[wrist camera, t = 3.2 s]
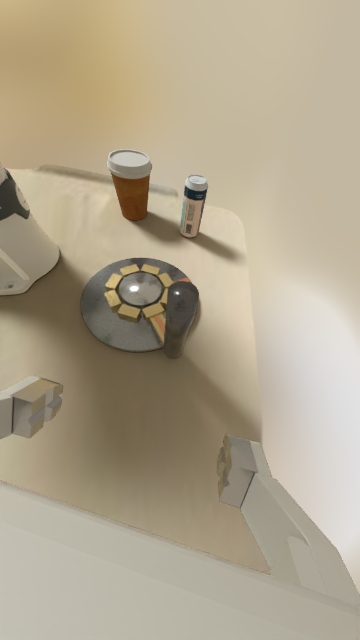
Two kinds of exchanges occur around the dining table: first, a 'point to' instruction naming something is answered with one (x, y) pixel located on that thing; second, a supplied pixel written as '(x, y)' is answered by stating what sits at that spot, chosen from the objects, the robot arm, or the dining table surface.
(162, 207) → the dining table surface
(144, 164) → the disposable coffee cup
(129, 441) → the dining table surface
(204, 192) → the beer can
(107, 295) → the tan handled ring
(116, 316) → the flange
